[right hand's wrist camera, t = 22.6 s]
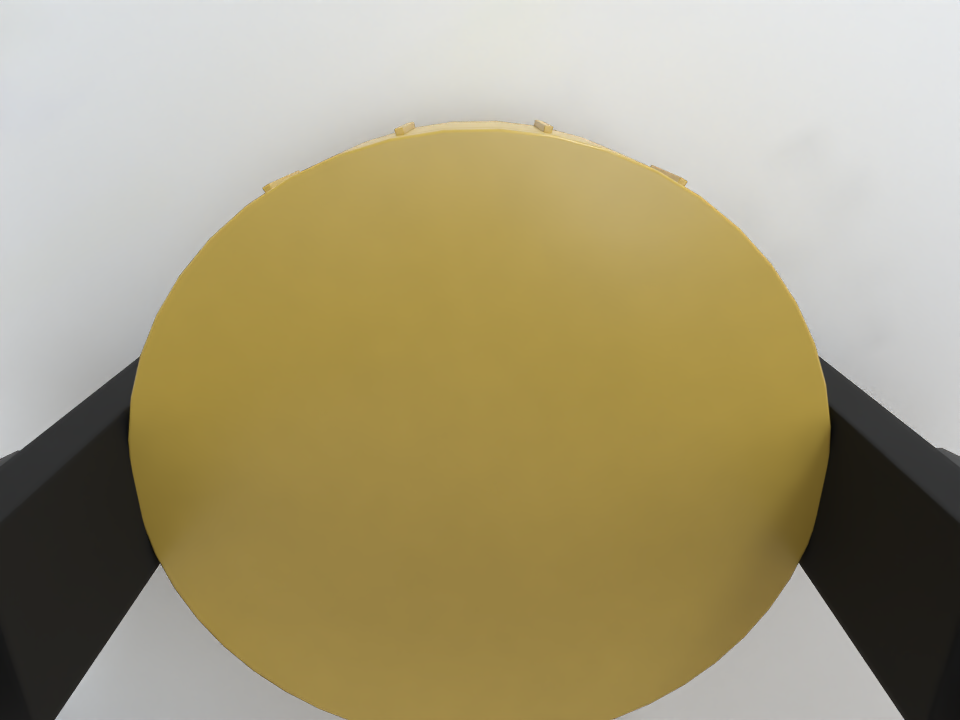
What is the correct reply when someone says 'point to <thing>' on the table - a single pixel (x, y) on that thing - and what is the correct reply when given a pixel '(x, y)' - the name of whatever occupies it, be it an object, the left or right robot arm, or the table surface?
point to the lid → (479, 430)
